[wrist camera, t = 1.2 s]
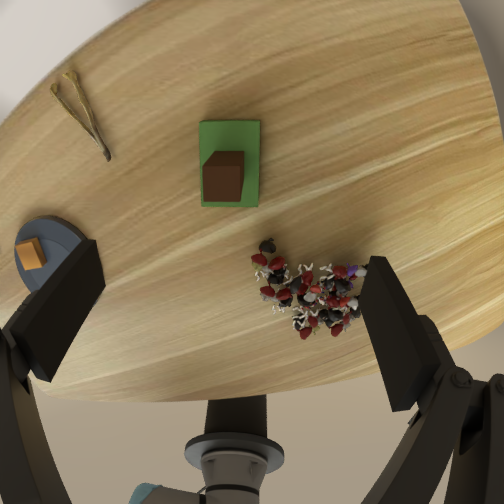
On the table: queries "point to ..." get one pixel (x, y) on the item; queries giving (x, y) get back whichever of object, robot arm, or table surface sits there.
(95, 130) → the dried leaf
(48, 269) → the plate
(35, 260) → the orange flat block
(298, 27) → the table surface
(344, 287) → the dark lumpy cluster
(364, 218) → the table surface
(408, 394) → the robot arm
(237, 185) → the sponge brush
